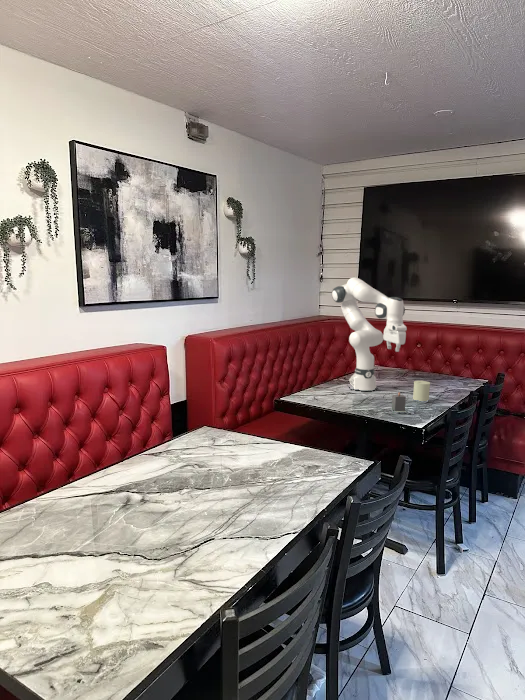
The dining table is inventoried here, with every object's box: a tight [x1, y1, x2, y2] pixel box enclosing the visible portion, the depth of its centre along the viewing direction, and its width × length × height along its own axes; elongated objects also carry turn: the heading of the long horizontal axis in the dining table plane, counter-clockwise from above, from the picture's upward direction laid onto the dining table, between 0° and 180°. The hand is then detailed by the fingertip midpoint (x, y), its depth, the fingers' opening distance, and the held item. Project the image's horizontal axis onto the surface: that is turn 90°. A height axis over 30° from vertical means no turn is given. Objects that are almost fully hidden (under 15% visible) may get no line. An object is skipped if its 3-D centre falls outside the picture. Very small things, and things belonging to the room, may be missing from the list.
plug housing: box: [391, 392, 407, 411], centre depth 247 cm, size 4×6×10 cm
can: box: [412, 380, 431, 401], centre depth 270 cm, size 9×9×12 cm
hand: (393, 350), depth 261 cm, fingers open, 8 cm apart
